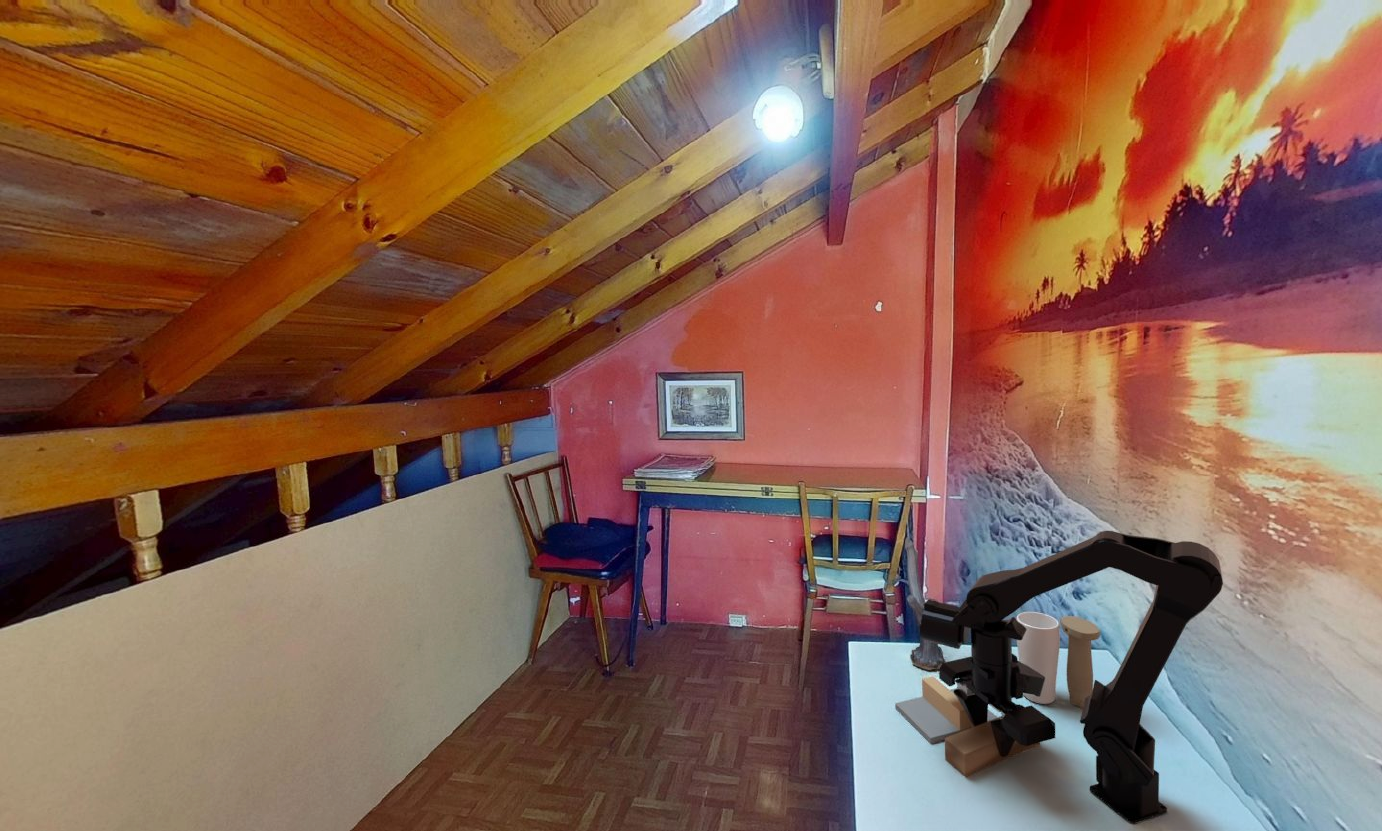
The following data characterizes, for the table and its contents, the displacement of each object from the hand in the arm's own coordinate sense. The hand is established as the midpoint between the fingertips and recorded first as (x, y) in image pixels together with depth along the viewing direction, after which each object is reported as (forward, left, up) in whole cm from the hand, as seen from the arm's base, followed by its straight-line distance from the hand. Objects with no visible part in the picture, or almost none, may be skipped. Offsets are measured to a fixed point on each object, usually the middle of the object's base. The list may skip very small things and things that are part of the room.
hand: (993, 746), depth 91 cm
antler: (+28, -7, -1) cm, 29 cm away
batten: (0, 0, -1) cm, 1 cm away
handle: (+5, -23, -1) cm, 24 cm away
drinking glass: (+9, -18, -1) cm, 20 cm away
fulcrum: (+10, +1, -1) cm, 10 cm away
